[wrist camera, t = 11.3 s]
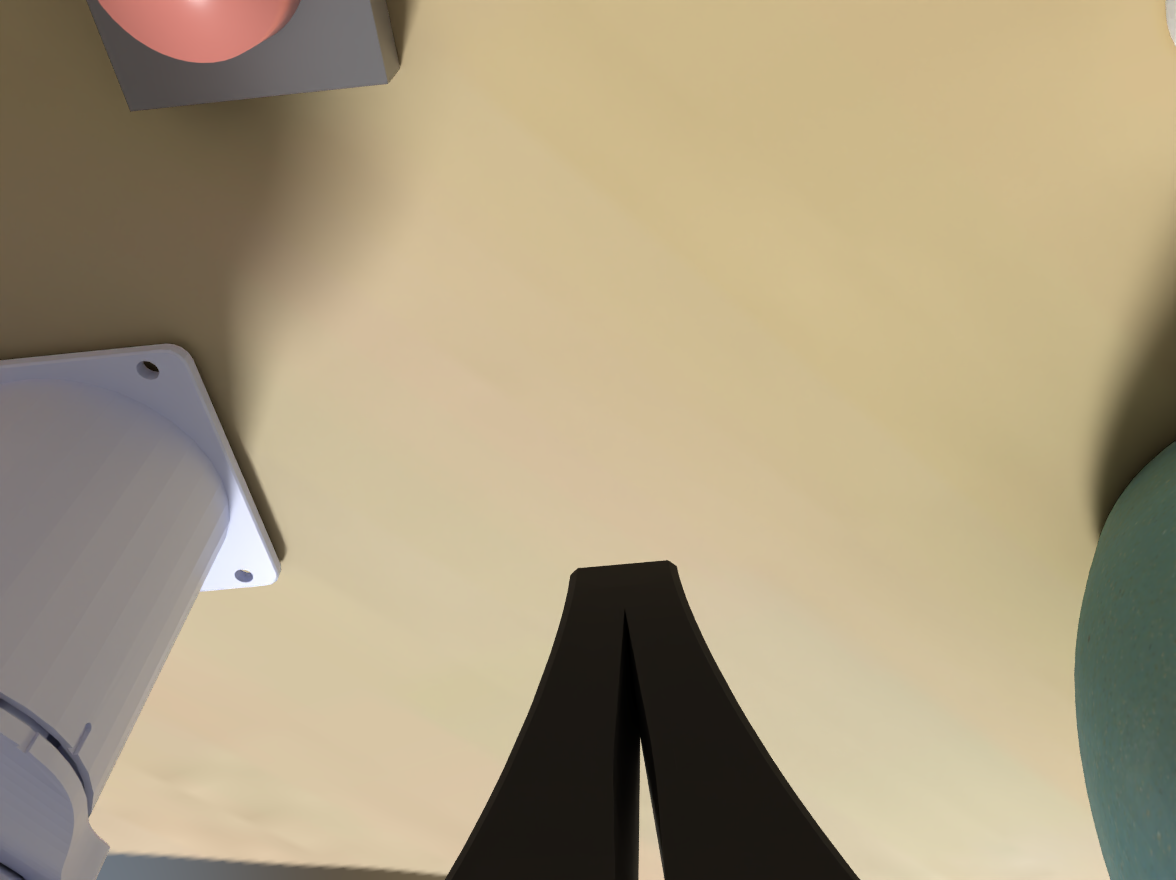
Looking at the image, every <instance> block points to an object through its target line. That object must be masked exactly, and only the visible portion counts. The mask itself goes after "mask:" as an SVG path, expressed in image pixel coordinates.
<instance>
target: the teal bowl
mask: <svg viewBox="0 0 1176 880" xmlns="http://www.w3.org/2000/svg"><path fill="white" fill-rule="evenodd" d="M1074 678H1075V703H1076V718H1077V730H1078V738H1079V747H1080V754H1081V760H1082V766H1083V771H1084V777H1085V783H1086V788H1087V793H1088V798H1089V802H1090V807H1091V811H1092V815H1093V819H1094V823H1095V828H1096V831H1097V835H1098V839H1099V843H1100V846H1101V850H1102V854H1103V857H1104V860H1105V864H1106V867H1107V870H1108V873H1109V876H1110V879H1111V880H1176V441H1174V442H1173V443H1172V444H1170V445H1169V446H1168V447H1166V448H1165V449H1164V450H1163V451H1162V452H1160V453H1159V454H1158V455H1157V456H1156V457H1155V458H1154V459H1152V460H1151V461H1150V462H1149V463H1148V464H1147V465H1146V466H1145V467H1144V468H1143V469H1142V470H1141V471H1140V472H1139V473H1138V474H1137V475H1136V476H1135V478H1134V479H1133V480H1132V481H1131V482H1130V483H1129V485H1128V486H1127V487H1126V489H1125V490H1124V492H1123V493H1122V494H1121V496H1120V497H1119V499H1118V500H1117V502H1116V503H1115V505H1114V507H1113V509H1112V511H1111V512H1110V514H1109V516H1108V518H1107V520H1106V523H1105V525H1104V527H1103V530H1102V532H1101V535H1100V538H1099V541H1098V545H1097V548H1096V552H1095V555H1094V558H1093V562H1092V565H1091V569H1090V572H1089V576H1088V580H1087V585H1086V589H1085V593H1084V597H1083V602H1082V607H1081V612H1080V618H1079V624H1078V632H1077V641H1076V652H1075V672H1074Z"/></svg>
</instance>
